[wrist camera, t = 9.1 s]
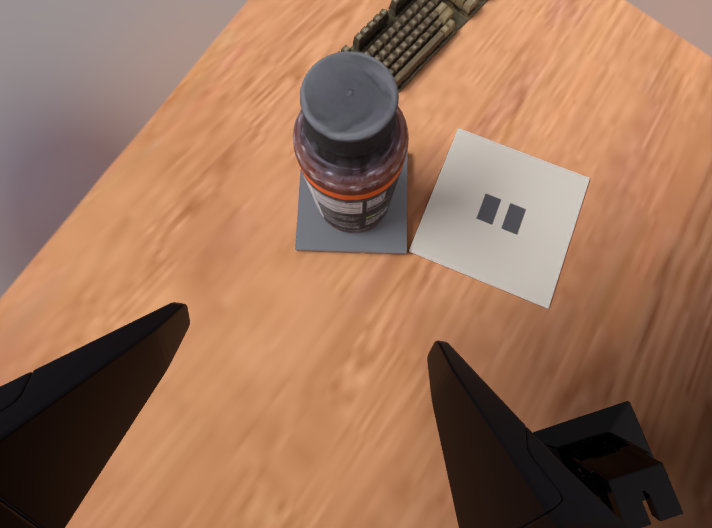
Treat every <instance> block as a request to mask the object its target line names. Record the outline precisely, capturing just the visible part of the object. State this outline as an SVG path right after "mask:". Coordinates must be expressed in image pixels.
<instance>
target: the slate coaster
mask: <svg viewBox="0 0 712 528" xmlns="http://www.w3.org/2000/svg"><path fill="white" fill-rule="evenodd" d="M407 159H408V149H407V153H406V158H405V161H404V164H403V167H402V171H401V173H400V176H399V179H398V182H397V185H396V188H395V191H394V193H393V196H392V199H391V202H390V205H389V208H388V210H387V212H386V214H385V216H384V217H383V218H382V220H381V221H380V222H379V223H378V224H377V225H375V226H374V227H372V228H371V229H369V230H366V231H363V232H359V233H348V232H343V231H340V230H338V229H336V228H334V227H332V226H331V225H330V224H328V223H327V222H326V220H325V219H324V218H323V216H322V215H321V213H320V211H319V209H318V207H317V205H316V203H315V200H314V198H313V196H311V195H312V194H311V191H310V189H309V187H308V185H307V182H306V180H305V178H304V176H303V173H302V170H301V172H300V187H299V202H298V217H297V232H296V247H295V250H297V251H316V252H346V253H376V254H406V253H407Z"/></svg>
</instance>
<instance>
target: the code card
mask: <svg viewBox="0 0 712 528" xmlns="http://www.w3.org/2000/svg"><path fill="white" fill-rule="evenodd" d="M589 179H590V178H588V177H586V176H583V175H580V174H578V173H575V172H572V171H570V170H567V169H565V168H562V167H559V166H557V165H554V164H551V163H549V162H546V161H544V160H541V159H538V158H536V157H533V156H531V155H528V154H525V153H523V152H520V151H517V150H515V149H512V148H510V147H507V146H504V145H502V144H499V143H496V142H494V141H491V140H489V139H486V138H483V137H481V136H478V135H475V134H473V133H470V132H468V131H465V130H462V129H460V128H458V130H457V132H456V135H455V137H454V139H453V142H452V144H451V147H450V149H449V152H448V154H447V157H446V159H445V162H444V164H443V167H442V169H441V172H440V174H439V177H438V179H437V182H436V184H435V187H434V189H433V192H432V194H431V197H430V199H429V202H428V204H427V207H426V209H425V212H424V214H423V217H422V219H421V222H420V224H419V227H418V229H417V232H416V234H415V236H414V239H413V241H412V244H411V246H410V249H409V251H408V252H411V253H413V254H416V255H418V256H421V257H423V258H425V259H428V260H430V261H433V262H435V263H438V264H440V265H442V266H445V267H447V268H450V269H452V270H454V271H457V272H459V273H462V274H464V275H467V276H469V277H471V278H474V279H476V280H479V281H481V282H484V283H486V284H488V285H491V286H493V287H496V288H498V289H501V290H503V291H505V292H508V293H510V294H513V295H515V296H518V297H520V298H522V299H525V300H527V301H530V302H532V303H535V304H537V305H539V306H542V307H544V308H547V309H549V305H550V302H551V299H552V296H553V293H554V290H555V286H556V283H557V280H558V277H559V274H560V271H561V268H562V264H563V261H564V258H565V255H566V252H567V249H568V246H569V242H570V239H571V236H572V233H573V230H574V227H575V224H576V220H577V217H578V214H579V211H580V208H581V205H582V201H583V198H584V195H585V192H586V189H587V186H588V183H589Z"/></svg>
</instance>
